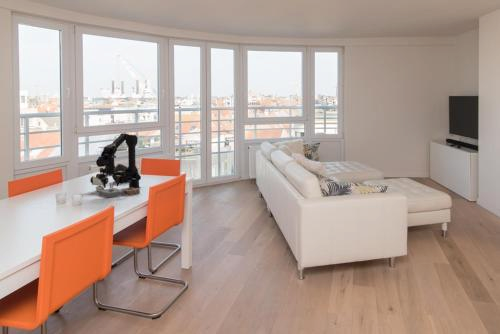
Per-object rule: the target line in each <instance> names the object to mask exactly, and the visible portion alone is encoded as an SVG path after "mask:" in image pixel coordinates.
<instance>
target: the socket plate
mask: <svg viewBox="0 0 500 334" xmlns="http://www.w3.org/2000/svg"><path fill="white" fill-rule="evenodd" d="M97 192H98V195H99V196H102V197H105V198H107V199H109V198H115V197H122V196H126V195H125V194H124V191H123V190H121V189H119V188H117V187H113V191H110V188H104V190H98V191H97Z"/></svg>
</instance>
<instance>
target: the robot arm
mask: <svg viewBox="0 0 500 334" xmlns="http://www.w3.org/2000/svg"><path fill="white" fill-rule="evenodd" d="M124 142H125V144H126V145H127V148H128V149H127V151H128V152H127V153H128V161H127V162H128V168H127V169H126V176H127V179H128V180H129V181H128V188H131V187H133V188H136V189H139V188H140V189H141V186H140V180H141V179H142V176H141V175H140V173H139V170H138V168H137V166H136V164H137V163H136V147H137V144H138V136H137V134H129V133H120V134H119V136H117V138H116V139H115V140H114V141H113V142H111V143H110V144H107V145H105V146H104V147H103V149H102V151H101V154H100V156H98V158H97V159H96V161H95V164H96V166H97V167H99V173H96V174H95V175H96V178H98V179H100V180H101V182H102V184H103V185H102V186H103V187H104V189H107V188H106V187H107V186H106V185H107V184H106V179H105V177H107V178H109V177H112V176H115V175H117V176H116V182H115V183H116V187H119V185H120V183H121V182H120V180H121V178H122V177H123V176H125V173H124V172H123V171H116V172H115V167H116V166H115V158H117V155H115V154H116V152H117V151H118V148H119V147H120V146H121V145H122V144H123V143H124Z"/></svg>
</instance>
